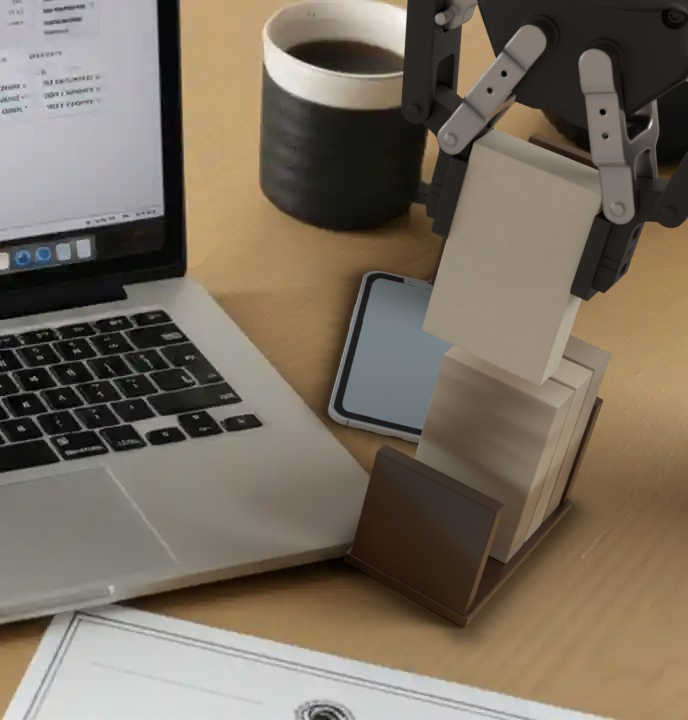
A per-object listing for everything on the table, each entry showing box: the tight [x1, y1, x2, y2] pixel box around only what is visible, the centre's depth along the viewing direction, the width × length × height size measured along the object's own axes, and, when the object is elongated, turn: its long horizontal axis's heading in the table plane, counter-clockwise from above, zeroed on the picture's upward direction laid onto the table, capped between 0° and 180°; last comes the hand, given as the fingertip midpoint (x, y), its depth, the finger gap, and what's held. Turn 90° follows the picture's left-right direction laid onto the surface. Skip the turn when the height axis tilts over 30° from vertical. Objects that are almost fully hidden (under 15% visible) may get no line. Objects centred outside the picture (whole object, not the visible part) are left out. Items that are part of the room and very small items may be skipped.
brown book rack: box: [343, 334, 612, 629], centre depth 75 cm, size 6×11×10 cm, turn 141°
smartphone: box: [327, 270, 454, 444], centre depth 90 cm, size 7×1×15 cm
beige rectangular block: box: [422, 128, 603, 386], centre depth 67 cm, size 6×2×9 cm, turn 51°
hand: (516, 258), depth 67 cm, fingers closed on beige rectangular block, 5 cm apart
